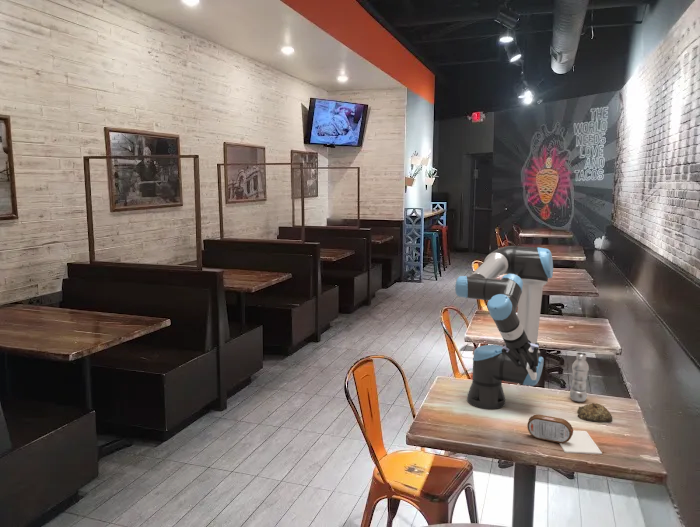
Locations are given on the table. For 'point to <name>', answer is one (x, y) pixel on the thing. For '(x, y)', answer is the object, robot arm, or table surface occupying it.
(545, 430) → the tin
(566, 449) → the rubber mat
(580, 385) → the plastic bottle
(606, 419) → the mossy rock
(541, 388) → the table surface
